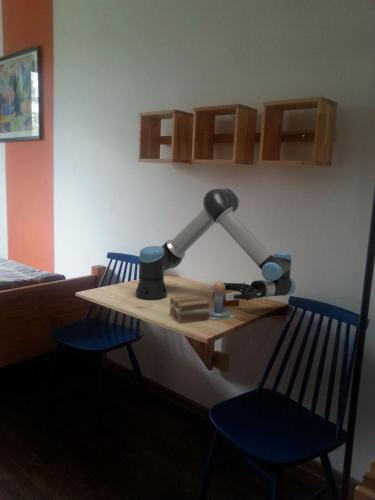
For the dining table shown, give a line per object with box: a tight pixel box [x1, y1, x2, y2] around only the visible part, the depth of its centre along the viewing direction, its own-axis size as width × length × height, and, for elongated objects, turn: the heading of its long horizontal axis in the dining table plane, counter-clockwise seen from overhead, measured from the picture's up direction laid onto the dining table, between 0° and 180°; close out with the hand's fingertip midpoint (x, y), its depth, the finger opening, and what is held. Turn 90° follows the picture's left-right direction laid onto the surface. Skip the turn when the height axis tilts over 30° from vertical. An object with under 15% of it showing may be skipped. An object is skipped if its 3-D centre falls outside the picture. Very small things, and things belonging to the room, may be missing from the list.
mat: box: [208, 313, 235, 321], centre depth 177 cm, size 10×10×1 cm
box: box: [169, 295, 210, 324], centre depth 173 cm, size 12×12×7 cm
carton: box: [212, 290, 240, 308], centre depth 197 cm, size 8×16×4 cm, turn 12°
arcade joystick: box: [209, 281, 231, 318], centre depth 176 cm, size 10×10×14 cm
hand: (218, 292), depth 175 cm, fingers open, 13 cm apart
